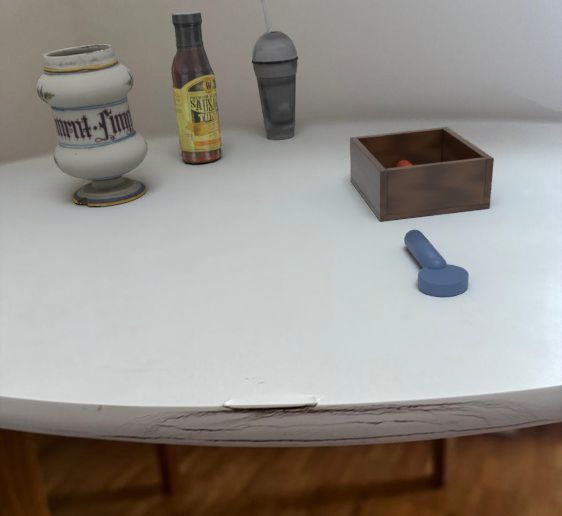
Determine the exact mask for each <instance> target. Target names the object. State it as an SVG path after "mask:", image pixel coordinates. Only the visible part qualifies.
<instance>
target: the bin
mask: <svg viewBox="0 0 562 516" xmlns="http://www.w3.org/2000/svg"><path fill="white" fill-rule="evenodd" d="M349 157H350V158H349V159H350V160H349V161H350V162H349V165H350V183H351V184H352V185H353V186H354V187H355V189H356V190H357V192H358V193H359V195H360V196H361V197H362V199H363V200H364V201H365V203H366V204H367V205H368V207H369V208H370V210H371V211H372V212H373V214H374V215H375V217H377V219H378V221H379V222H387V221H394V220H395V221H396V220H404V219H412V218H420V217H428V216H437V215H445V214H453V213H461V212H462V213H463V212H470V211H478V210H479V211H480V210H486V209H487V210H488V209H490V208H491V197H492V186H493V174H494V162H495V161H494V160H495V158H494V157H492V155H490V154H488V153H487V152H486V151H484V150H482V149H481V148H479V147H477V146H476V145H475V144H473V143H472V142H470V141H469V140H467V139H466V138H464V137H463V136H461V135H460V134H459V133H457V132H456V131H454V130H452V129H451V128H450V127H448V126H441V127H433V128H423V129H414V130H405V131H398V132H397V131H396V132H389V133H388V132H387V133H379V134H370V135H362V136H353V137H349ZM402 160H407V161H409V162H410V163H411V164H412V165H413V166H404V167H396V166H397V164H398V163H399V162H400V161H402Z"/></svg>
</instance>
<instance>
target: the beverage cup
mask: <svg viewBox="0 0 562 516" xmlns="http://www.w3.org/2000/svg"><path fill="white" fill-rule="evenodd" d="M260 1H261V5H262V6H261V7H262V12H263V17H264V22H265V28H266V32H264V33H263V34H262V35H260V36H259V37H258V38H257V40H256V42H255V43H254V45H253V49H252V55H251V57H252V59H251V64H252V67H253V71H254V75H255V77H256V82H257V83H256V84H257V89H258V95H259V101H260V104H261V105H260V106H261V112H262V119H263V125H264V129H265V133H266V138H267V139H269V140H271V141H272V140H274V141H278V140H280V141H281V140H288V139H292V138H293V137H295V127H296V93H297V92H296V88H297V87H296V83H297V82H296V80H297V71H298V60H299V56H298V52H297V48H296V46H295V43H294V41H293V40H292V39H291V37H290V36H289V35H288V34H285V33H284V32H282V31H281V30H273V31H271V29H270V28H271V27H270V22H269V17H268V12H267V5H266V0H260Z"/></svg>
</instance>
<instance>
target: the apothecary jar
mask: <svg viewBox="0 0 562 516" xmlns="http://www.w3.org/2000/svg"><path fill="white" fill-rule="evenodd" d="M115 53H116V52H115V49H114V47H113V45H112V44H105V43H99V44H88V45H87V44H86V45H78V46H72V47H66V48H60V49H55V50H51V51H48V52H46V53H44V54H43V57H42V59H43V60H42V61H43V73H42V74H41V75H40V76H39V78H38V80H37V83H36V94H37V96H38V97H39V98H40V100H41V101H42V102H43V103H45V104H47V105H48V106H50V109H51V113H52V116H53V121H54V125H55V128H56V133H57V138H58V143H57V144H56V146H55V148H54V151H53V161H54V164H55V166H56V167H57V168H58V169H59V170H60V171H61V172H62V173H64V174H66V175H68V176H70V177H71V178H72V177H73V178H76V179H80V180H87V181H91V182H88V183H86V184H85V185H84V186H82V187H80V188H78V189H77V190H75V191H74V193H73V195H72V197H71V199H72V201H73V203H75V204H76V203H77V204H76V205H86V204H87V205H86V206H88V207H90V206H101V207H109V206H116V205H121V204H122V205H123V204H125V203H126V204H127V203H129V202H133V201H135V200H137V199H139V198H141V197H142V196H143V195H145V193H146V192H147V186H146V184H144V183H143V182H141V181H139V180H135V179H132V178H129V177H123V175H126V174H128V173H130V172H132V171H133V170H135V169H137V168H138V167H139V166H140V165H141V164H142V163H143V162H144V160H145V158H146V157H147V154H148V150H149V148H148V143H147V140H146V139H145V137H144V136H143V135H142V134H141V133H140V132H139V131H137V130H136V129H135V126H134V122H133V119H132V115H131V109H130V104H129V100H128V94H129V93H130V92H131V90H132V89H133V87H134V76H133V74H132V72H131V71H130V69H129V68H128V67H127V66H125V65H124V64H122V63H121V62H119V60H118V58H117V55H116V54H115ZM80 203H81V204H80Z"/></svg>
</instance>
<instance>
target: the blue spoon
mask: <svg viewBox="0 0 562 516" xmlns="http://www.w3.org/2000/svg"><path fill="white" fill-rule="evenodd" d="M403 242H404V246H405V247H406V248H407V249H408V251H409V252H410V253H411V255H412V256H413V258H414V259H415V260H416V261H417V263H418V264H419V266H420V267H421V268H420V270H419V271H418V273H417V288H418V290H419V291H420V292H422V293H424V294H425V295H429V296H433V297H440V298H441V297H443V298H444V297H454V296H459V295H461V294H463V293H465V292H466V291H468V290H467V289H468V287H469V277H470V276H469V272H468V270H467V269H465V268H463V267H461V266H459V265H454V264H448V263H447V261H446V260H445V259H444V257H443V256H442V254H440V253H439V251H438V250H437V249H436V247H435V246H434V245H433V244H432V243H431V242H430V241H429V239H428V238H427V237H426V235H424V234H423V232H421V231H420V230H418V229H410V230H409V231H407V232H406V233H405V235H404V238H403Z"/></svg>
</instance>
